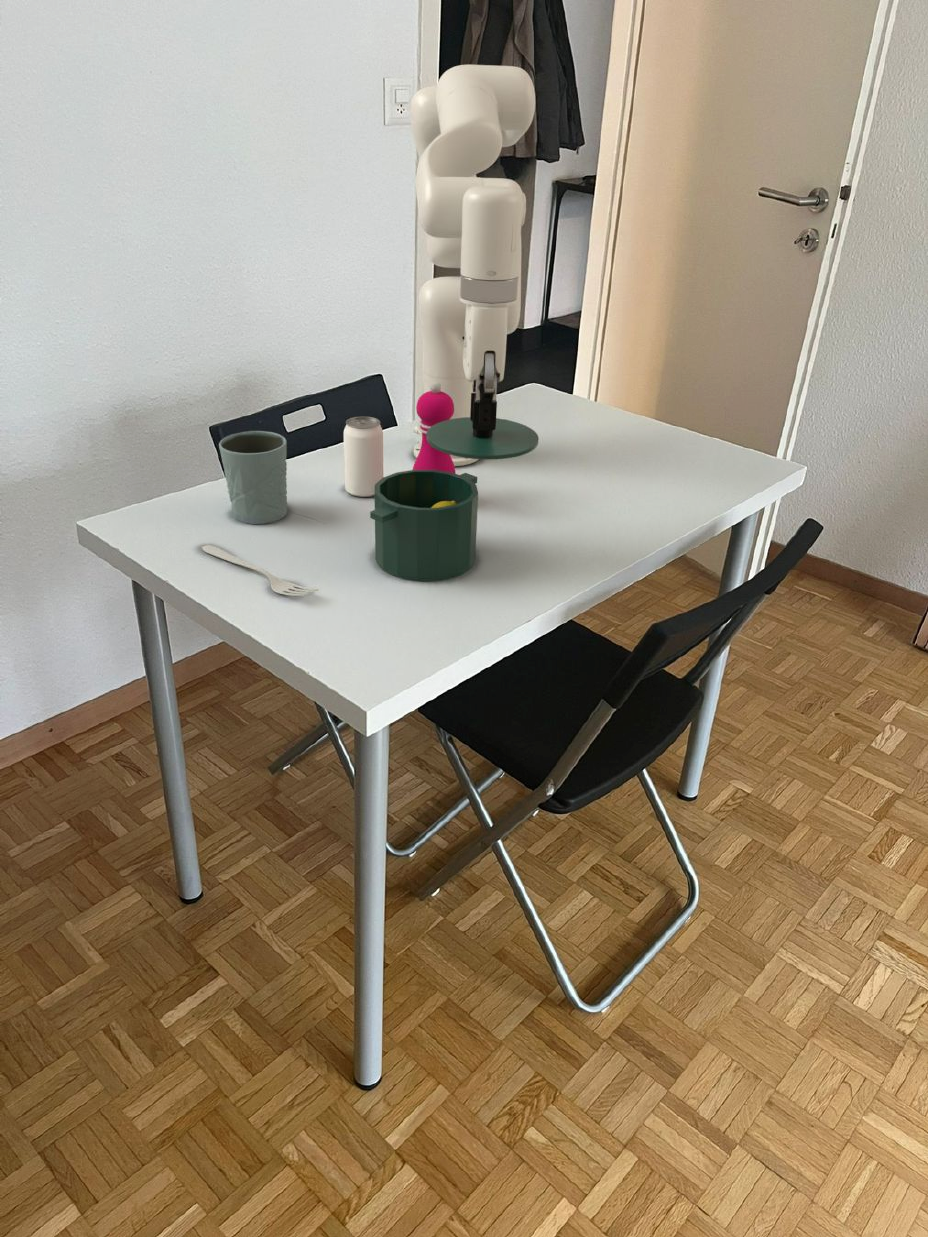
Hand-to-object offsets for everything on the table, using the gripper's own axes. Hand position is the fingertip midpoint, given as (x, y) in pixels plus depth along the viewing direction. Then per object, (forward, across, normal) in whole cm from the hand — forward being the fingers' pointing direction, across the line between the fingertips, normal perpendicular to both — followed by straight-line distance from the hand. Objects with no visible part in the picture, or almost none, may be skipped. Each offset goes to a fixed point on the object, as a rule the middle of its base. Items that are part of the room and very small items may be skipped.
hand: (482, 424), depth 137 cm
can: (+20, -23, -17) cm, 35 cm away
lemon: (+18, +2, -8) cm, 20 cm away
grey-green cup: (+20, -14, -34) cm, 42 cm away
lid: (+2, 0, 0) cm, 2 cm away
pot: (+20, +2, -8) cm, 21 cm away
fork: (+20, +7, -32) cm, 38 cm away
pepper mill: (+20, -19, -6) cm, 28 cm away
